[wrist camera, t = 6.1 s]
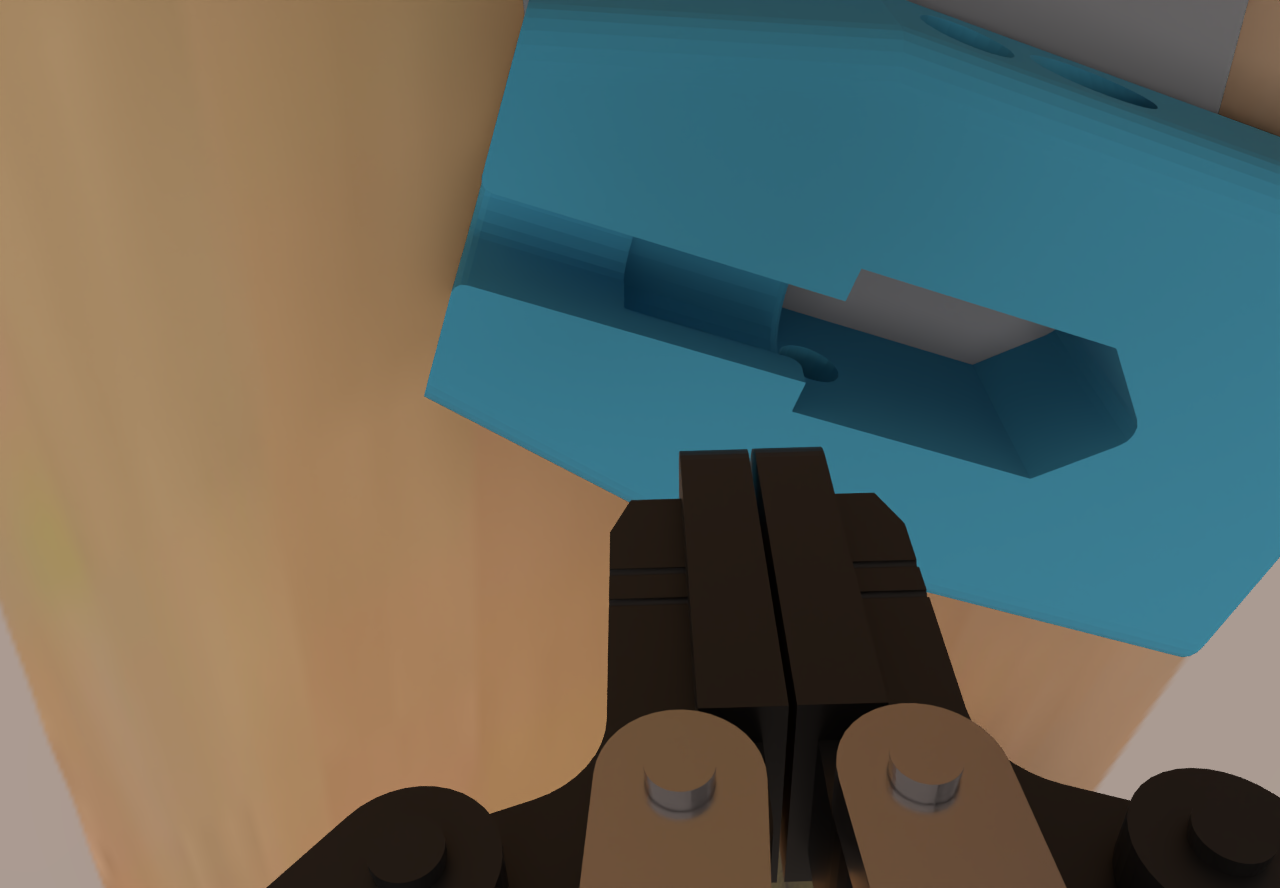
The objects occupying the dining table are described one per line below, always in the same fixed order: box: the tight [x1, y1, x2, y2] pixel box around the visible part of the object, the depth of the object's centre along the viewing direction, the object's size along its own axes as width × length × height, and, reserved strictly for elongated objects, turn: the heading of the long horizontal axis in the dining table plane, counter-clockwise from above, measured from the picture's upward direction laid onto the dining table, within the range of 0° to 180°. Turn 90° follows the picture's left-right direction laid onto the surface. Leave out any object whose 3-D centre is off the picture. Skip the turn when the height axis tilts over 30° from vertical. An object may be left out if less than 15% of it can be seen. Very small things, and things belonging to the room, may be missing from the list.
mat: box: [523, 0, 1248, 365], centre depth 25 cm, size 16×16×1 cm
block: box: [424, 0, 1280, 657], centre depth 25 cm, size 12×5×20 cm
